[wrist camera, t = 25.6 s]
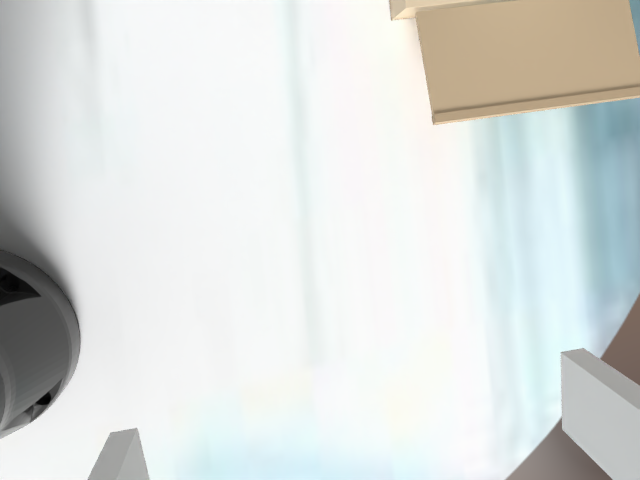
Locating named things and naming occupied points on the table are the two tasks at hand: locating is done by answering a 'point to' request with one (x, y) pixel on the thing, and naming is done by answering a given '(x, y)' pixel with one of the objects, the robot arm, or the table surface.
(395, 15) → the box
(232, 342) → the table surface
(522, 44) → the lid flap
